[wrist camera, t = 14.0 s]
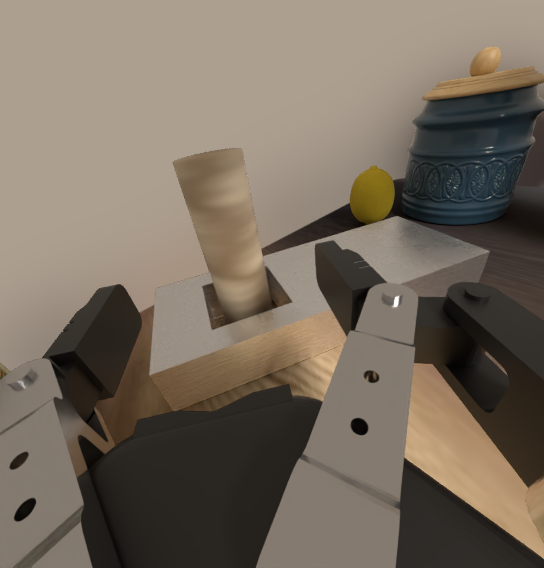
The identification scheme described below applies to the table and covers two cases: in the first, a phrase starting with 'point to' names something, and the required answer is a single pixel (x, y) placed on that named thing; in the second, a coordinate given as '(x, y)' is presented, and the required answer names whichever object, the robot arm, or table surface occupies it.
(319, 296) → the block
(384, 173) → the lemon
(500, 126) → the canister
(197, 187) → the peg
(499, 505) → the table surface
